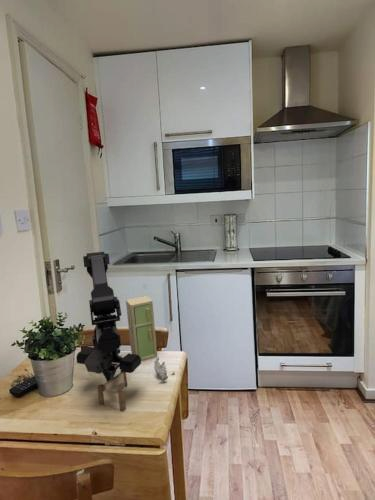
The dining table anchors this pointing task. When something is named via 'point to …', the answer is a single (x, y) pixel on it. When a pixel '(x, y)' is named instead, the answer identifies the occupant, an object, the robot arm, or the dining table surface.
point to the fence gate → (117, 382)
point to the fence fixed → (111, 398)
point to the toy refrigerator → (141, 327)
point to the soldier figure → (161, 370)
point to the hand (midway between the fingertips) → (110, 385)
